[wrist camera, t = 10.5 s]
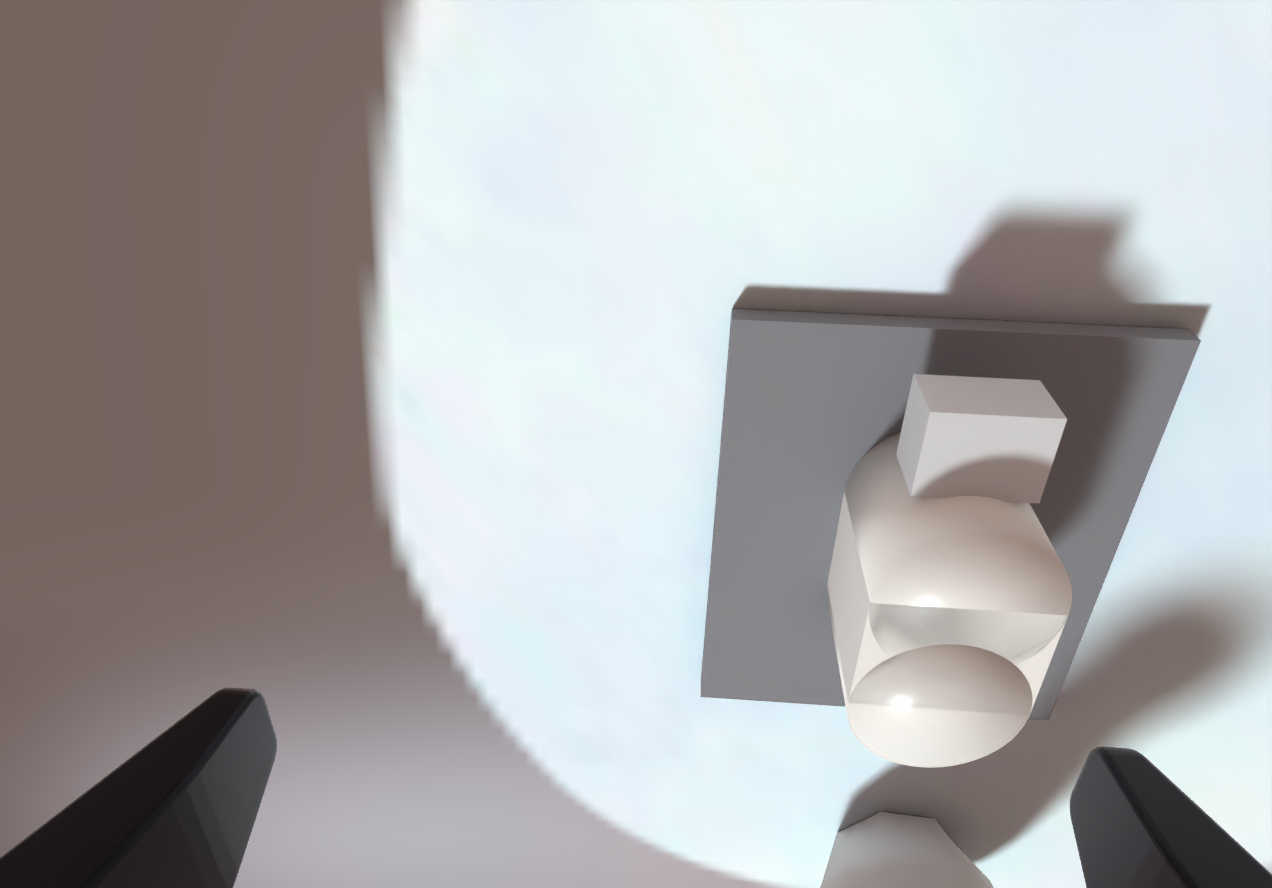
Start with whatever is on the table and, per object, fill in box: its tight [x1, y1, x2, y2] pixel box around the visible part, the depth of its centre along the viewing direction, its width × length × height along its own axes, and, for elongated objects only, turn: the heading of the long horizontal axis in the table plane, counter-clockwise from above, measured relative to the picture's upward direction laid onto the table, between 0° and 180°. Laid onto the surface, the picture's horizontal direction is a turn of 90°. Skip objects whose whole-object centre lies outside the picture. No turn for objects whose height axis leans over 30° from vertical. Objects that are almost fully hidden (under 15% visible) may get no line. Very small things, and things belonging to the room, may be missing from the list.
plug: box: [827, 374, 1072, 768], centre depth 20 cm, size 9×4×4 cm, turn 179°
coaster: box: [701, 309, 1201, 720], centre depth 22 cm, size 10×12×1 cm
